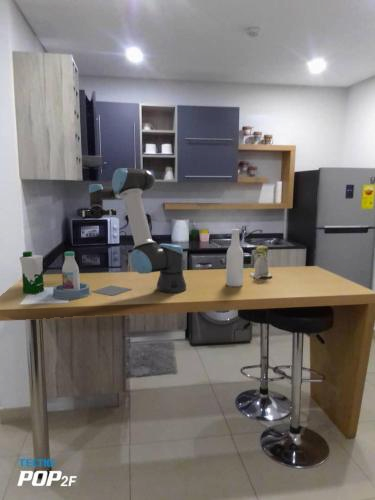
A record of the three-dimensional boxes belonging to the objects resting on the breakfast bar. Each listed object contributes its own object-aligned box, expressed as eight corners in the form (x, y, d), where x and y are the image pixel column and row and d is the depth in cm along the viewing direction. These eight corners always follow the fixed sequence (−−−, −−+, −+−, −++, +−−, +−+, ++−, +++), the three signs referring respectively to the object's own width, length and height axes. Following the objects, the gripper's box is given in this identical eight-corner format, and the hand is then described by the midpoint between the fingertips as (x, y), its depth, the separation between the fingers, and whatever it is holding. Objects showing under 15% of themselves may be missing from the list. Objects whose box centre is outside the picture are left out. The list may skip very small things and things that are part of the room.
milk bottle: (74, 289, 179) (71, 250, 176) (83, 292, 174) (81, 251, 171) (60, 293, 173) (57, 252, 170) (69, 295, 168) (66, 253, 165)
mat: (131, 289, 183) (131, 289, 183) (112, 296, 171) (112, 295, 171) (111, 285, 190) (110, 285, 190) (91, 291, 178) (91, 291, 178)
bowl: (98, 292, 177) (98, 285, 176) (70, 301, 162) (69, 293, 161) (73, 287, 186) (72, 280, 185) (44, 296, 171) (44, 288, 170)
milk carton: (31, 289, 183) (28, 250, 179) (47, 290, 181) (44, 251, 178) (19, 294, 174) (17, 253, 171) (36, 295, 172) (34, 254, 169)
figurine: (276, 278, 208) (277, 246, 206) (256, 279, 204) (257, 247, 201) (265, 273, 220) (266, 244, 217) (246, 275, 216) (247, 244, 213)
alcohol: (245, 285, 192) (247, 229, 187) (233, 287, 187) (234, 230, 182) (235, 281, 199) (236, 228, 194) (222, 284, 195) (223, 228, 190)
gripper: (119, 218, 208) (122, 220, 187) (74, 218, 201) (72, 221, 181) (118, 205, 206) (121, 206, 186) (73, 205, 200) (71, 206, 180)
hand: (97, 213), depth 183 cm, fingers open, 13 cm apart
